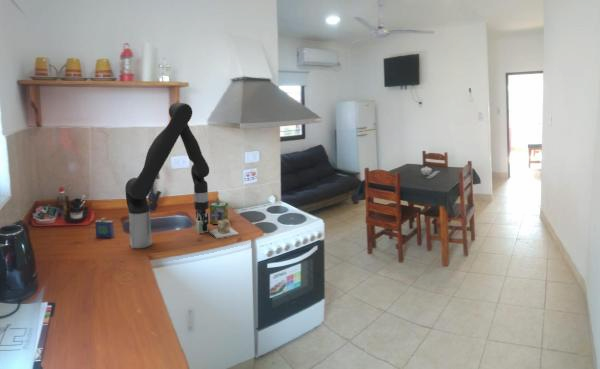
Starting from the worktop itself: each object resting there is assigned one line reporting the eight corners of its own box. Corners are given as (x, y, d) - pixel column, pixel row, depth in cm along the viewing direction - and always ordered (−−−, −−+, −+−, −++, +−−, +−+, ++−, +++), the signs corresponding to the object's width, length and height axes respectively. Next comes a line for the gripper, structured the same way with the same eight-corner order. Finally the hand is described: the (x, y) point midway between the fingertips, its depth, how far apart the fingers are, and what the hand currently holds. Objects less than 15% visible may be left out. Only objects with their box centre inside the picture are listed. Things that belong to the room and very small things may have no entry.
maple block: (221, 233, 194) (220, 223, 193) (217, 231, 198) (217, 220, 197) (229, 232, 197) (229, 221, 196) (226, 229, 201) (226, 219, 200)
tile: (217, 239, 190) (217, 237, 189) (209, 232, 199) (209, 230, 199) (238, 235, 196) (238, 233, 196) (230, 229, 206) (230, 227, 206)
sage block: (199, 234, 197) (198, 223, 196) (196, 231, 201) (195, 220, 200) (208, 232, 200) (207, 222, 198) (205, 229, 204) (204, 219, 202)
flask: (115, 237, 189) (113, 217, 187) (112, 239, 186) (110, 219, 184) (98, 236, 189) (96, 216, 187) (94, 238, 187) (92, 218, 184)
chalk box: (225, 225, 212) (224, 200, 209) (209, 224, 212) (209, 200, 209) (228, 220, 221) (228, 196, 218) (213, 220, 221) (213, 196, 218)
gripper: (190, 197, 200) (191, 226, 204) (198, 203, 189) (199, 233, 192) (203, 196, 204) (204, 224, 208) (212, 202, 193) (213, 231, 196)
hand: (202, 228), depth 200 cm, fingers open, 8 cm apart
